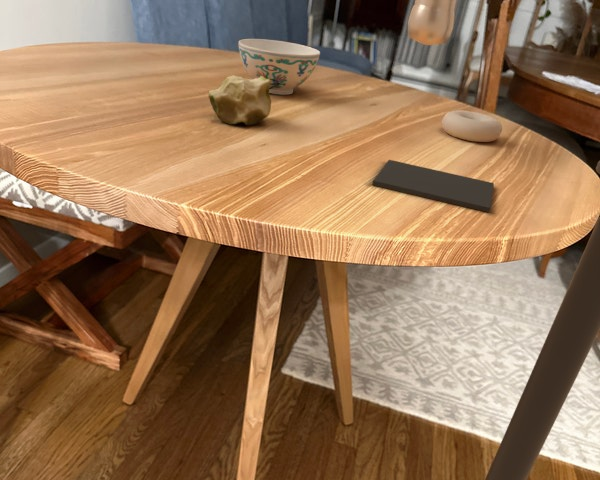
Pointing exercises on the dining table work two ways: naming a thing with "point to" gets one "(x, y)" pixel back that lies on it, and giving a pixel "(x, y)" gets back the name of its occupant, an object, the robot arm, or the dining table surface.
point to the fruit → (242, 100)
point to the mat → (435, 185)
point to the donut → (471, 126)
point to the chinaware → (278, 62)
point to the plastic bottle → (431, 21)
